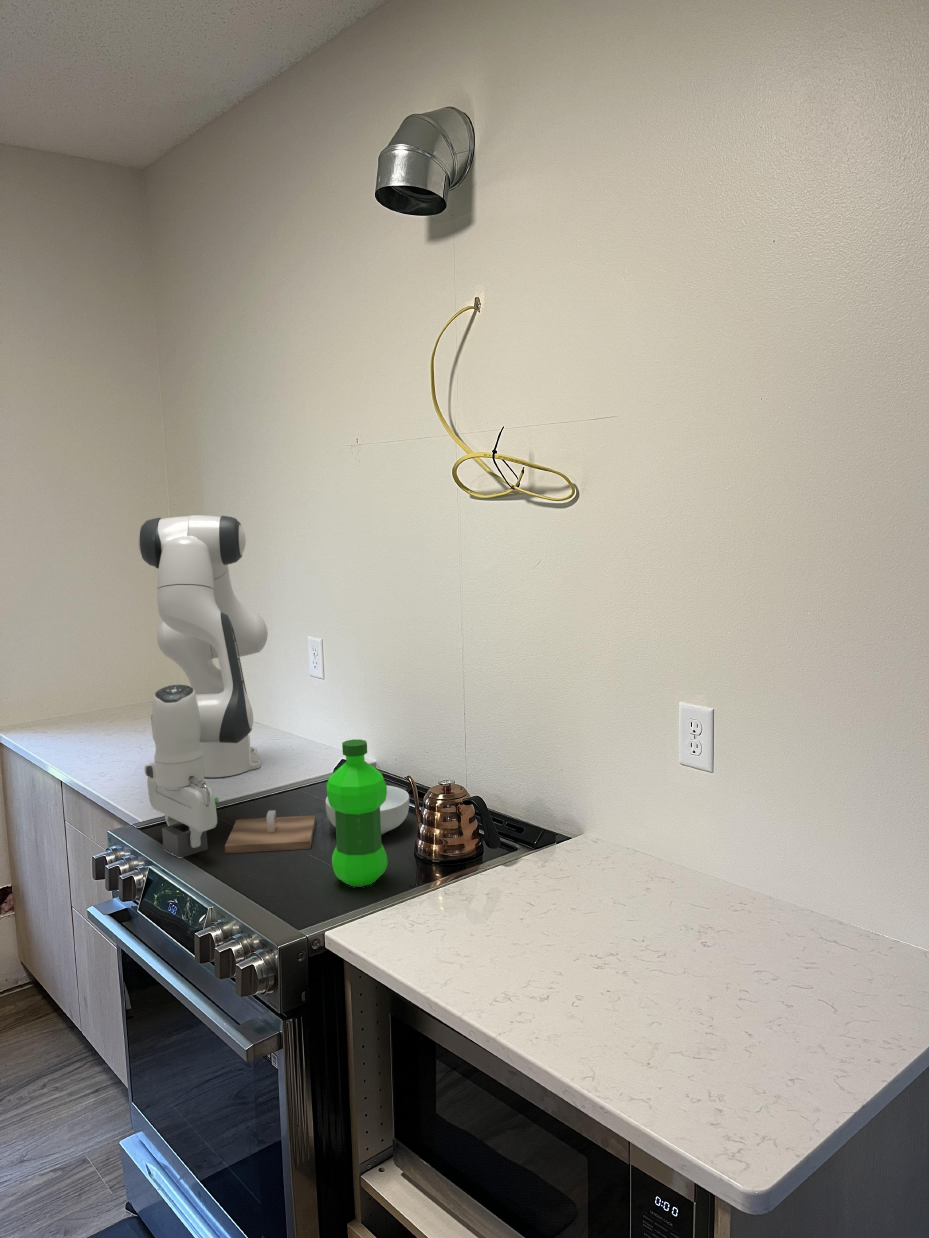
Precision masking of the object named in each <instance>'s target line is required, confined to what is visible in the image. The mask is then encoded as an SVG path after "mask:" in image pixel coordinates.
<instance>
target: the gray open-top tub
mask: <svg viewBox="0 0 929 1238" xmlns="http://www.w3.org/2000/svg"><path fill="white" fill-rule="evenodd" d="M161 831H162V832H161V833H162V844H163V850H164V849H165V850H166V851H168V852H170V853H173V854H174V855H176V856H178V857H183V858H185V857H189V856H192V855H195V854H197V853H201V852H203V851H207V850H208V836H207V831H203V832H202V834H201V837H200V841H201V844H200V846H199V847H195V848H193V847H191V846H189V845H188V843H189V842H188V838H189V837H190V835H191V831H190V830H189V826H187V825H185V824H183V823H181V822H180V823H177V824H174V825H170V826H168V825H167V826H163V827H162V828H161ZM166 851H165V852H166ZM168 852H167V853H168Z"/></svg>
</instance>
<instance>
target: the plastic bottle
mask: <svg viewBox="0 0 929 1238" xmlns="http://www.w3.org/2000/svg"><path fill="white" fill-rule="evenodd" d="M341 744H342V747H341V748H342V749H341V750H342V755H343V756H345V762H344V763H343V764H342V765H341V766H339V767H338V768H337V769H336V770H335V771H334V772H333V773H332V774H331V775H330V776H329V777H328V780H327V781H326V785H325V786H326V795H327V796H328V800H329V804H330V806H331V807H332V808H333V809H334V810H335V821H336V827H335V836H336V845H335V848H334V849H333V853H332V855H331V864H332V868H333V869H332V870H333V873H334V874H335V877H336V878H338V879H339V880H340V881H341V882H343V883H345V884H349V885H351V886H363V885H369V884H372V883H373V882H374V883H376V881H377V880H378V879H379V878H380V877H381V876H382V875H383V874H384V873H385V871H386V870H387V868H388V856H387V853H386V849H385V848H384V845H383V844H382V835H381V820H380V806H381V805H382V804H383V803H384V802H385V800H386V795H387V786H386V785H387V783H386V781H385V779H384V776H383V774H382V772H380V771H379V770H378V769H377V768H375V767H374V766H373V765H372V764H370V763H369V762H367V761H365V755H366V754H368V742H367V740H364V739H348V740H345V741H343V742H341ZM327 796H326V797H327ZM374 883H373V884H374ZM373 884H372V885H373ZM351 886H350V887H351Z"/></svg>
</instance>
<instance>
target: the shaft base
mask: <svg viewBox="0 0 929 1238" xmlns="http://www.w3.org/2000/svg"><path fill="white" fill-rule="evenodd" d="M316 820H317V819H316V815H299V816H298V815H297V816H296V815H295V816H279V817H277V816H276V830H275V833H267V817H259V818H243V819H242V818H241V819H239V818H238V819H236V820H235V822H234V825H233V827H232V830H231V831H230V834H229V836H228V838H227V840H226V843H225V844H224V853H225V854H241V853H258V852H259V853H260V852H276V851H280V852H281V851H293V850H294V851H295V850H296V851H297V850H310V849H311V847H312V842H313V837H314V833H315V830H316V829H315V828H316V823H317V821H316Z"/></svg>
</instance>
